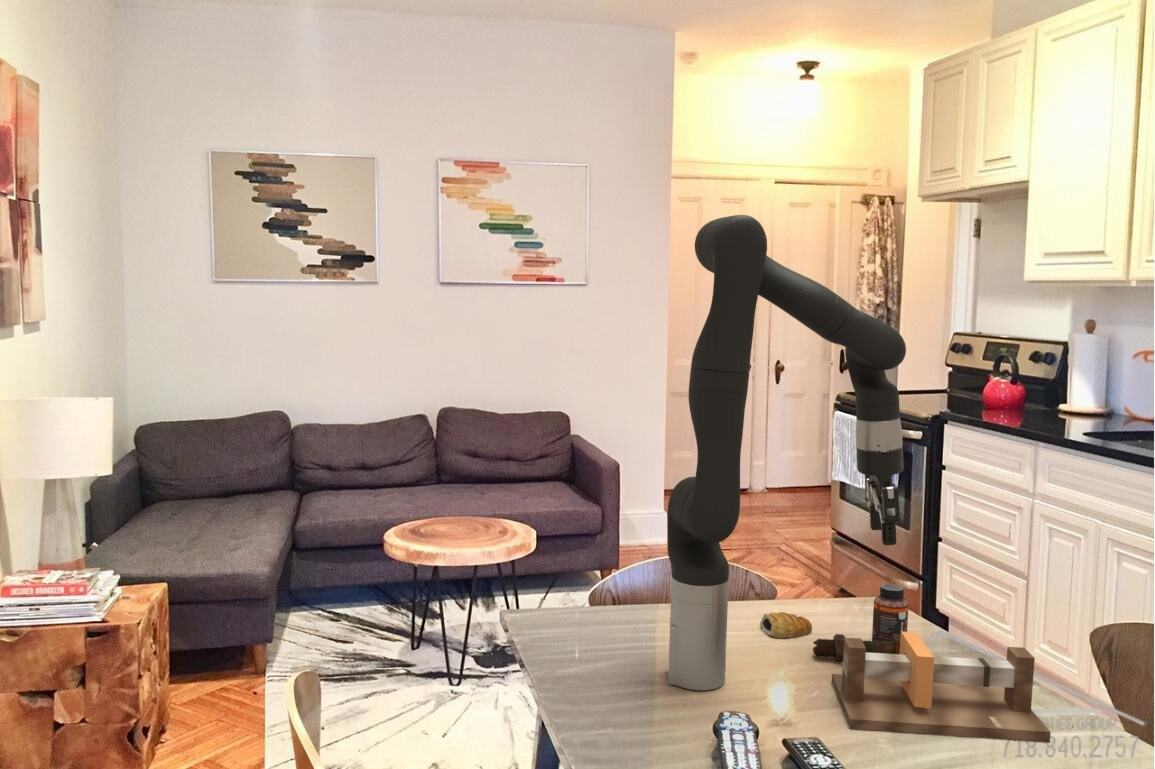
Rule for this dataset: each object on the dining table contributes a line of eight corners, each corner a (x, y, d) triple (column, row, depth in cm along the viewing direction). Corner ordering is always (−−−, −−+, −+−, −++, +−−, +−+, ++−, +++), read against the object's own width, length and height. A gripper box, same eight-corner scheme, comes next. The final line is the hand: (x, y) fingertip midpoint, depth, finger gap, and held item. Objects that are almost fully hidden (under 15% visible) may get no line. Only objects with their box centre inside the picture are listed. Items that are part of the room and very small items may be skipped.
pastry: (801, 624, 176) (802, 605, 176) (819, 637, 170) (820, 618, 169) (756, 628, 174) (757, 609, 174) (773, 641, 167) (774, 621, 167)
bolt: (812, 666, 161) (901, 671, 158) (815, 662, 156) (906, 667, 154) (811, 632, 163) (899, 636, 161) (814, 628, 159) (904, 632, 156)
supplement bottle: (910, 654, 162) (914, 592, 161) (877, 653, 162) (880, 591, 161) (899, 641, 168) (903, 581, 167) (867, 640, 168) (870, 581, 167)
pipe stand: (849, 728, 134) (853, 663, 133) (831, 682, 150) (834, 623, 148) (1049, 741, 131) (1054, 674, 130) (1009, 693, 147) (1013, 633, 146)
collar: (914, 706, 135) (917, 656, 135) (898, 678, 145) (900, 631, 144) (931, 707, 135) (934, 657, 134) (913, 679, 145) (916, 632, 144)
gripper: (848, 437, 162) (852, 526, 164) (865, 454, 148) (870, 551, 150) (891, 435, 161) (895, 524, 163) (913, 451, 147) (917, 548, 149)
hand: (883, 536), depth 156 cm, fingers open, 8 cm apart
